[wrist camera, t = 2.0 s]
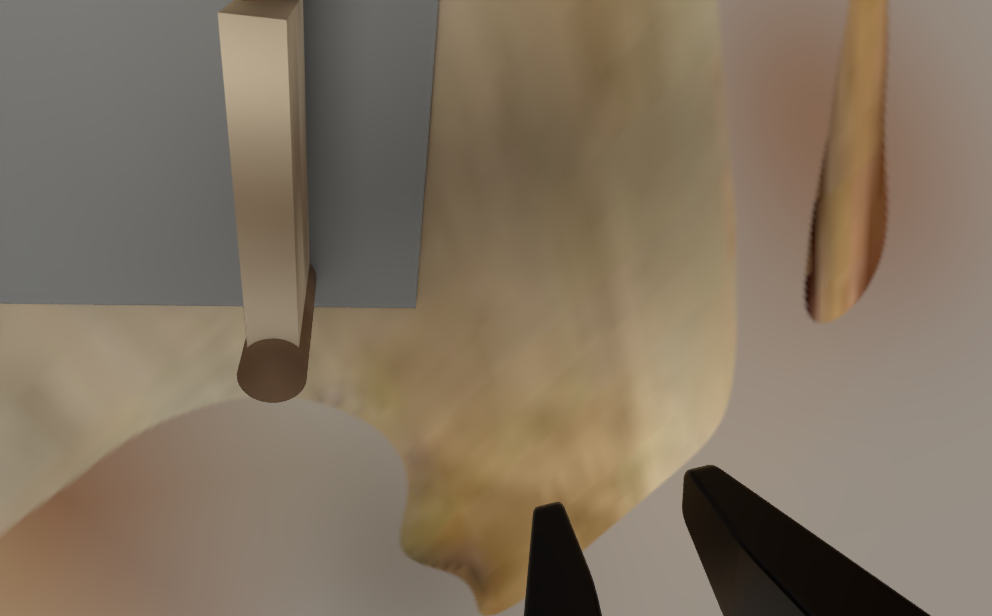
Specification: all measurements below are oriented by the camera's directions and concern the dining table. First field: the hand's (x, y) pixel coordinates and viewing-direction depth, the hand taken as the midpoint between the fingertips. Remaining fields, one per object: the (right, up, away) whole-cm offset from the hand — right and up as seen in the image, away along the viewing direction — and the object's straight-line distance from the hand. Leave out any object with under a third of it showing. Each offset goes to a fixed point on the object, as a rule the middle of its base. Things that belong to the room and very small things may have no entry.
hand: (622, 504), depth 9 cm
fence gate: (-8, +7, +9) cm, 13 cm away
